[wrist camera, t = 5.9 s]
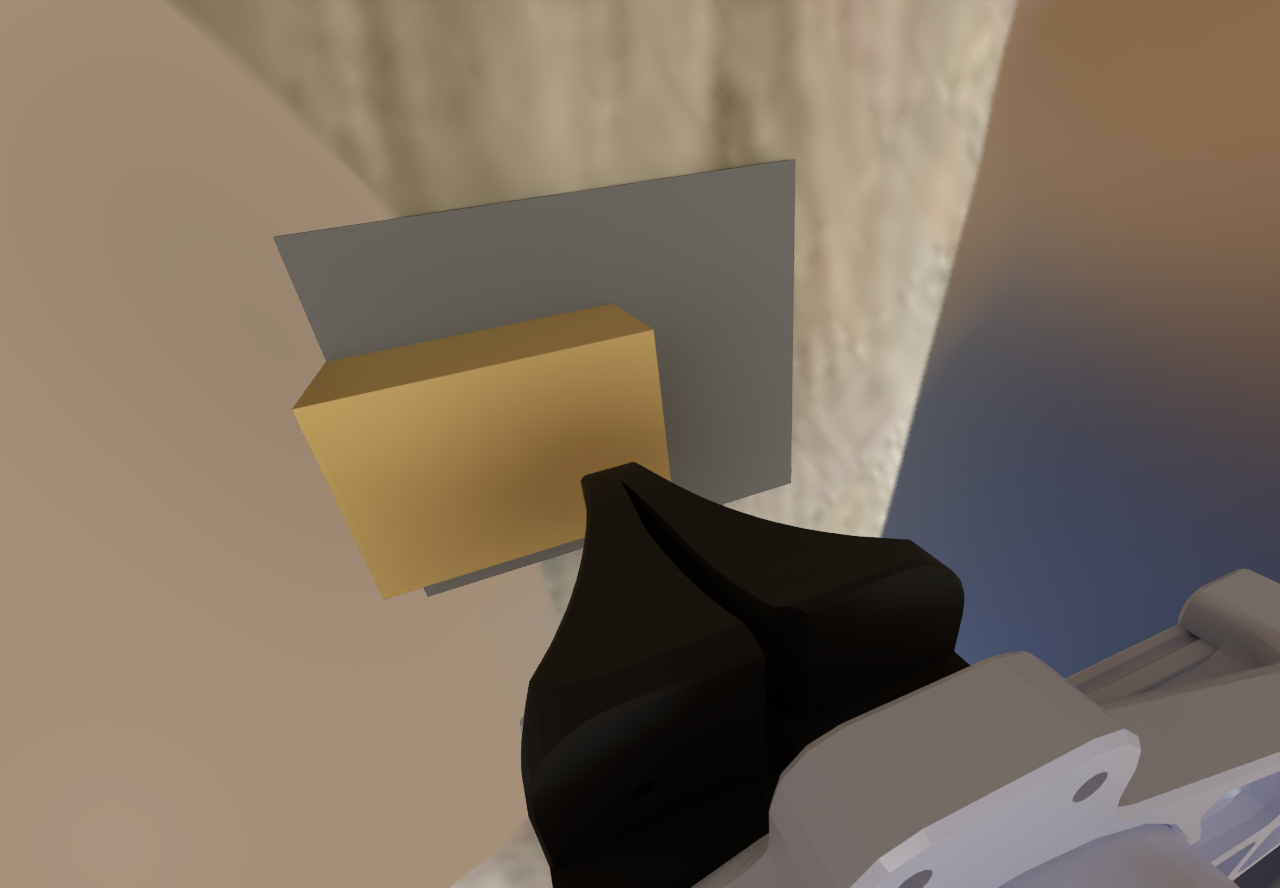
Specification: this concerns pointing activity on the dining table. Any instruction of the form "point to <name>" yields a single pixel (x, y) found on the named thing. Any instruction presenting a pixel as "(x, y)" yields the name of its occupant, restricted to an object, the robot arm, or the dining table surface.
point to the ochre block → (482, 439)
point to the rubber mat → (596, 302)
